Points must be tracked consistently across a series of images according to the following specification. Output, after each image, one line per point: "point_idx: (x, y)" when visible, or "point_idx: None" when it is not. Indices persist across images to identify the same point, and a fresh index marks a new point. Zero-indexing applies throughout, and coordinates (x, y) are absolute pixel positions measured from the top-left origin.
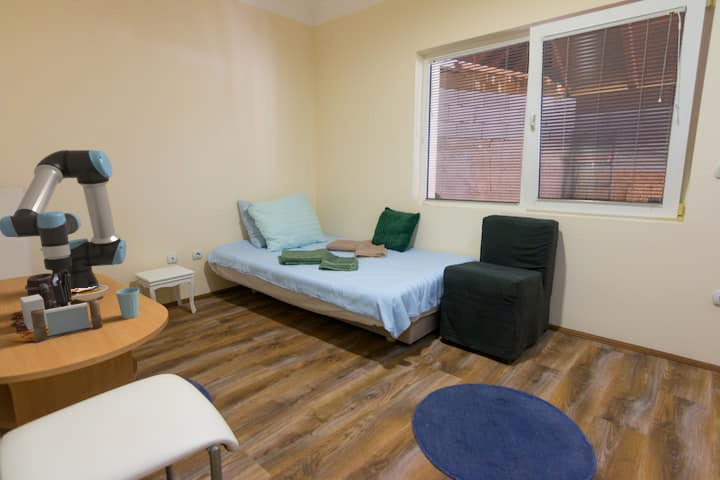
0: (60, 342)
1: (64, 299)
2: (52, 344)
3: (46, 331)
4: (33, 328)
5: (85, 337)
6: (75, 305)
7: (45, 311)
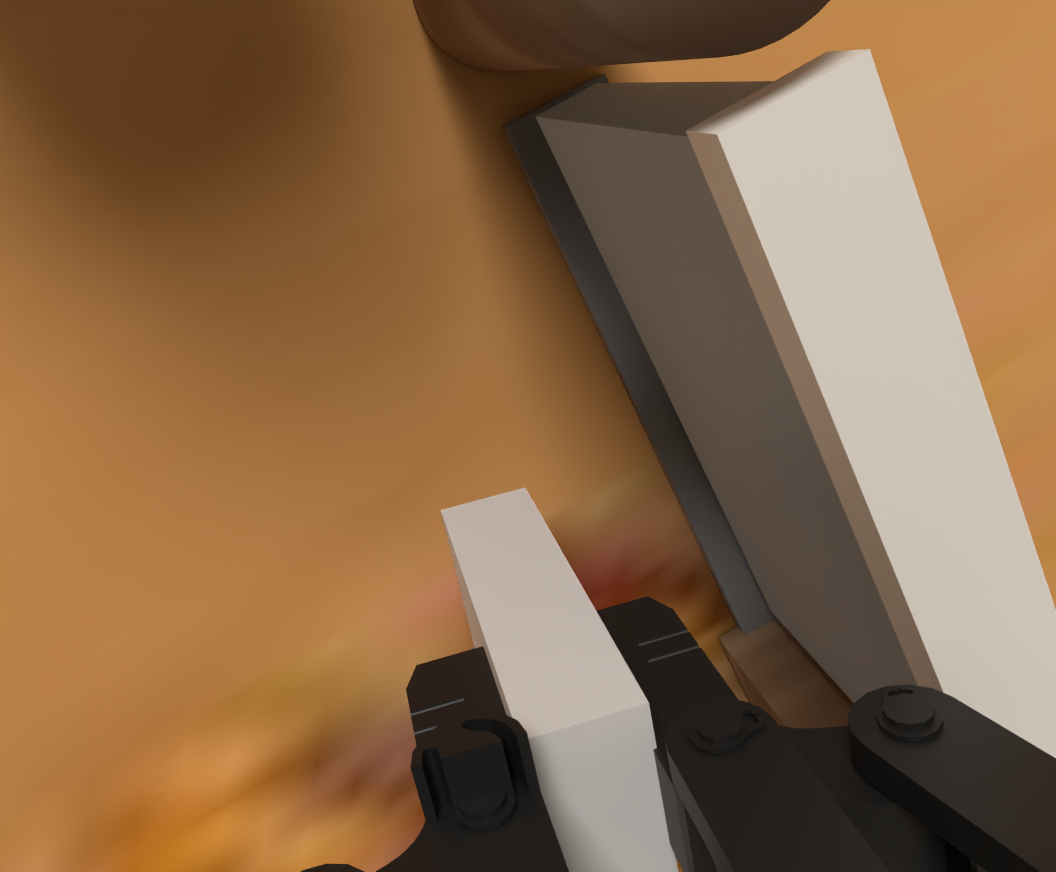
0: (992, 325)
1: (1041, 782)
2: (1025, 401)
3: (791, 669)
4: None
5: (917, 6)
6: (937, 382)
7: None
